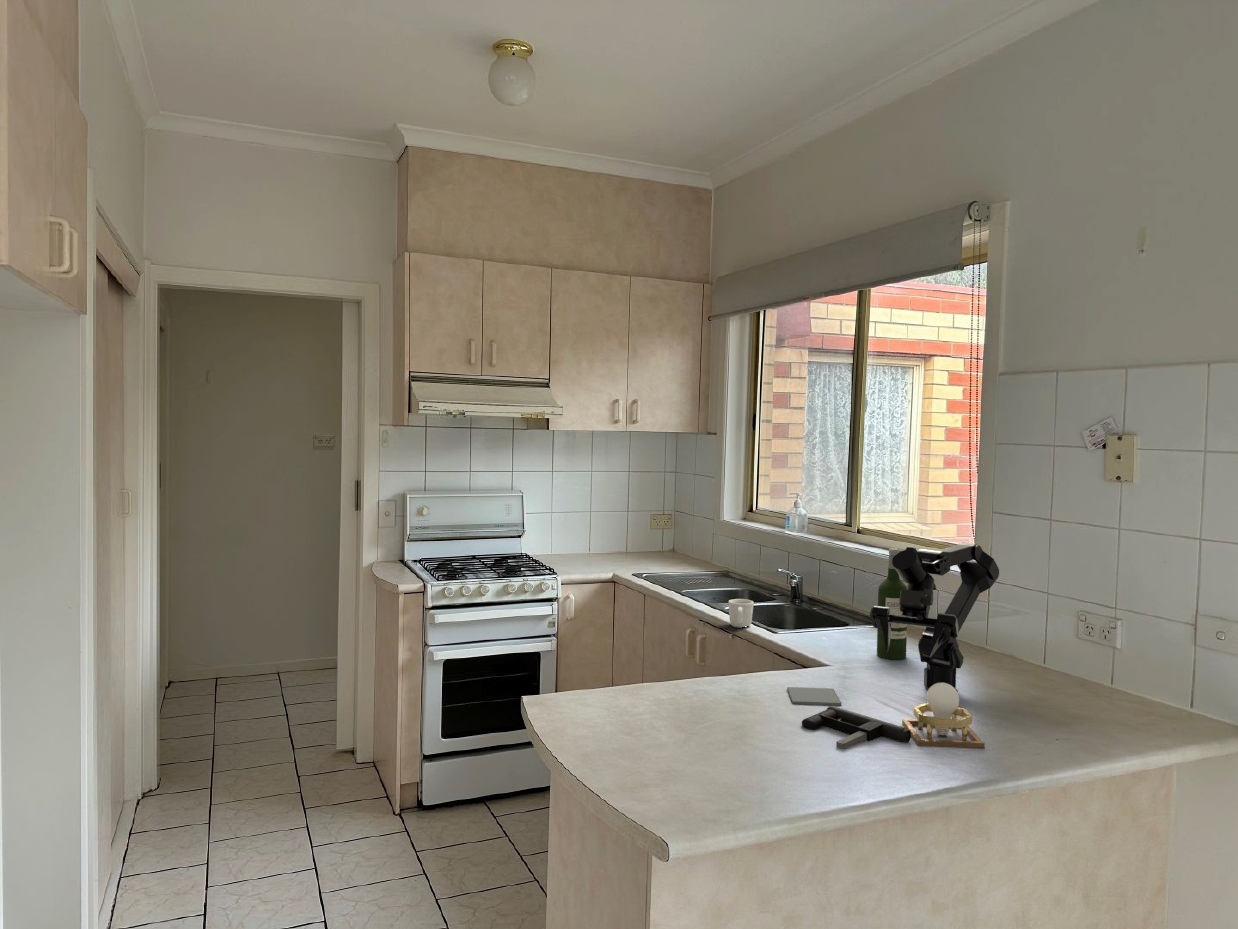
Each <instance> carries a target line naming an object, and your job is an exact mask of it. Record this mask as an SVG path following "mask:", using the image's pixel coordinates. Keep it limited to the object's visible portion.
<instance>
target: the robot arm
mask: <svg viewBox="0 0 1238 929" xmlns="http://www.w3.org/2000/svg"><path fill="white" fill-rule="evenodd" d="M892 564H893V566H894V568H895V569H896V571H897V572H898V574H899V577H900V579H901V581H902V582H903V583H904V584H905V583H906V584H907V585H906V587H907V590H901V592H900V600H899V604H900V611H902V615H900V614H891V612H890V608H889V607H881V606H878V605H873V607H872V608H870V612H869V617H870V620H871V623H872V624H871V625H872V627H873V628H875V629H877V628H878V631H881V632H883V636H884V643H885V649H886V652H888V650H889V646H890V638H891V628H890V627H891V625H892V622H893V623H901V624H907V625H910V626H914V627H915V626H917V627H924V628H925V629H924V631H923V632H922V633H921V637H920V638H919V640H918V644H917V647H918V653H919V658H920V662H921V663H926V667H924V669H923V685H924V686H925V687H926V689H927V690H929V688H930V687H931V686H932V685H934V684H936V683H947V684H950V685H951V686H953V687H954V688H955V689H956V691H957V692H958V693H959V691H958V689H957V688H956V686H957V669H961V668H962V667H963V664H964V656H963V654H962V652H961V650H960V648H959V647H960V645H959V644H960V643H959V639H958V636H959V632H960V631H961V629H962V627H963V625H964V623H965V622H966V621H967V620H966V619H967V618H968V616H969V614H970V613H971V612H972V611H971V610H972V609H973V607H974V605H975V603H976V602H977V599H978V598H979V596H980V594H981V593H983V592H986V591H987V590H990V589H991V588H992V586H993V585H994V584H995V583H996V581H997V580H998V578H999V576H1000V568H999V566H998V565H997V562H996V561H995V559H994V558H993V557H991V556H990V554H988V553H986V552H985V551H984V550H983V548H982V547H981V545H980V544H978V543H972V542H971V543H969V542H961V543H958V544H955V545H952V546H949V547H946V548H945V547H944V548H941V549H929V548H927V549H926V548H919V549H918V550H917V548H916V547H914V546H906V548H905V549H904V550H902V551H901V550H900V551H899V553H898V554H896V555H895V556H894V557H893V560H892ZM953 566H957V568H958V569H959V574H960V578H961V583H960V585H959V586H958V588H957V590H956V592H955V594H954V595H953V598H951V601H950V603H949V605H948V606H947V607H946V610H945V611H944V613H941V612H938V613H937V618H930V617H929V615H930V614H929V613H930V609H931V606H933V604H934V591H935V590H937V585H936V584H935V579H934V578H933V576H934V575H935V576H944V575H945V574H947V573H949V572H950V571H951V567H953ZM932 575H933V576H932Z"/></svg>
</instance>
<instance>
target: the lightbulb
mask: <svg viewBox="0 0 1238 929" xmlns="http://www.w3.org/2000/svg"><path fill="white" fill-rule="evenodd" d="M956 689H957V688H956ZM956 689H955V688H954V687H953V686H951V685H950V684H947V683H936V684H934V685H932V686H931V687H930V688H929V689H927V692H926V702H927V703H928V705H929V706H930V708H931V710H932V711H933V712H932V715H933V717H935V718H939V719H952V714H953V712H954V711H955V710H956V708H957V707H959V704H960V695H959V691H958V692H957V691H956ZM934 727H935V730H934V732H935V733H936V734H937V735H938V736H940V737H945V736H947V735H949V733H950V728H946V727H936V726H934Z"/></svg>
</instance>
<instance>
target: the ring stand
mask: <svg viewBox="0 0 1238 929" xmlns="http://www.w3.org/2000/svg"><path fill="white" fill-rule="evenodd" d="M927 712H931V713H933V711H932V710H931V708H930V706H929V705H928V702H927V703H926V702H925V703H921V704H919V705H916V706H914V707H913V712H912V713H913V716H914V717H915V718H916V719H914V718H913V719H911V718H902V720H901V722H902V723H901V724H902V725H903V727H904V728H906V729H907V730H910V732H911V739H913V741H914V742H915V744H916V746H919V747H942V748H943V747H946V748H951V747H952V748H969V749H974V748H975V749H986V748H985V745H986V742H984V741H983V740H982V739H981V738H980V736H978V735H977V733H976V732H975V731H974V730H973V729H972V728H971V726H970V725H971V724H973V715H972V714H971V713H969V711H968V709H966V708H962V707H959V706H958V707H957V708H956V710H955V711H954V712H953V714H952V716H951V719H939V718H935V717H934V716H932V715H928V714H925V713H927ZM958 717H961V718H958ZM915 726H917V729H918V730H920V731H923V730H924V727H926V738H922V737H921V736H920V734H919V733H918V732H917V731H916V730H915ZM935 726H936V727H946V728H949V729H951V731H952V732H957V729H961V740H957V739H956V740H954V739H951V740H949V739H933V727H935ZM936 727H935V728H936ZM968 737H969V738H970V740H968Z"/></svg>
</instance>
